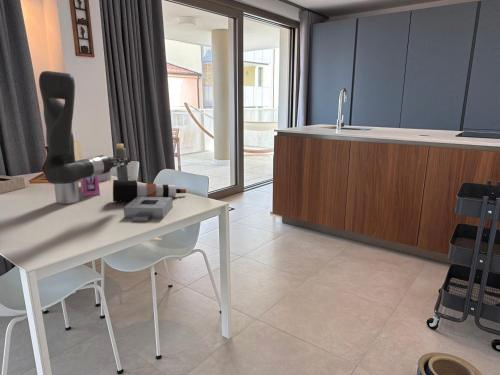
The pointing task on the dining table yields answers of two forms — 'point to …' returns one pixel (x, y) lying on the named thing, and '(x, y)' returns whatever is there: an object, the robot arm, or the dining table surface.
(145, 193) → the banded tapered cylinder
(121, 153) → the grey bottle
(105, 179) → the lumpy-topped squat cylinder
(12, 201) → the dining table surface
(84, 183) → the gum box
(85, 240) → the dining table surface
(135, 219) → the housing
